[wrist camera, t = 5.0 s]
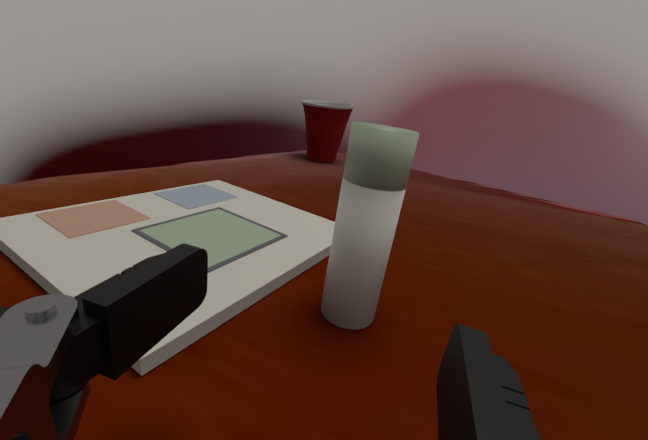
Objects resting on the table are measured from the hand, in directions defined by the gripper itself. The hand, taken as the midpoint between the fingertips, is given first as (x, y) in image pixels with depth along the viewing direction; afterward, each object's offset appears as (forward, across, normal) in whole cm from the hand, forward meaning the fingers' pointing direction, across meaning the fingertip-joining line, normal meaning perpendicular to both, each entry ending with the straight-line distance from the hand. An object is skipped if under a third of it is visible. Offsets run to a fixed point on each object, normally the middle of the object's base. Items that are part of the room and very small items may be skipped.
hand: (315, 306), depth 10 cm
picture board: (+14, +14, +7) cm, 21 cm away
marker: (+10, 0, +7) cm, 12 cm away
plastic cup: (+58, +17, +7) cm, 61 cm away
